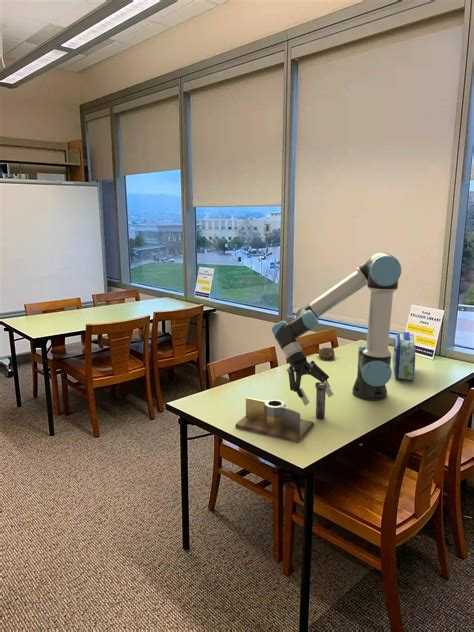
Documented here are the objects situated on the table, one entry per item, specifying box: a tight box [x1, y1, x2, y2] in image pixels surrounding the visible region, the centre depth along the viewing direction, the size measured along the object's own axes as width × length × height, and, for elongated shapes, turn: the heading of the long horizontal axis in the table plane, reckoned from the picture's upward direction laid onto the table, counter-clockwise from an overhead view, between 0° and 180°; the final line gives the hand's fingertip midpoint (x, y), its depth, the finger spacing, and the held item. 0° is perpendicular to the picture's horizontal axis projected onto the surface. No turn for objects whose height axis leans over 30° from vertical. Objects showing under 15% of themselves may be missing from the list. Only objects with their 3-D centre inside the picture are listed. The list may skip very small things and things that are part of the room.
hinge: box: [245, 396, 301, 434], centre depth 171 cm, size 24×8×8 cm, turn 61°
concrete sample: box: [317, 347, 335, 361], centre depth 257 cm, size 12×10×5 cm
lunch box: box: [392, 331, 416, 381], centre depth 227 cm, size 26×11×21 cm, turn 161°
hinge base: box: [235, 415, 315, 444], centre depth 173 cm, size 26×16×2 cm, turn 61°
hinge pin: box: [314, 381, 327, 420], centre depth 179 cm, size 5×5×14 cm
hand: (319, 399), depth 179 cm, fingers open, 13 cm apart
